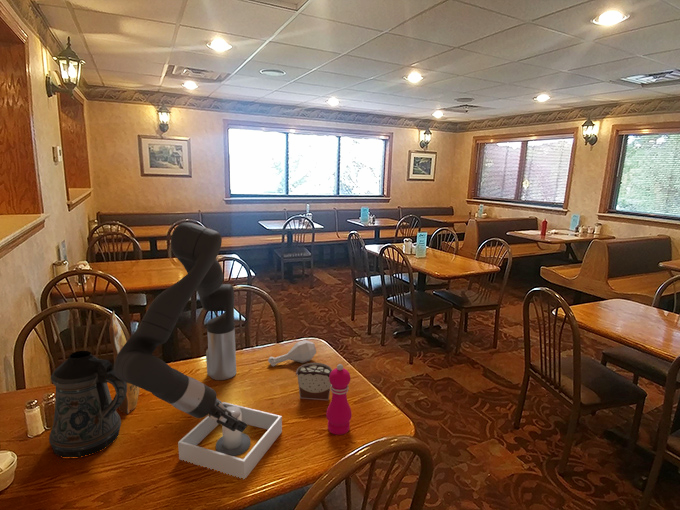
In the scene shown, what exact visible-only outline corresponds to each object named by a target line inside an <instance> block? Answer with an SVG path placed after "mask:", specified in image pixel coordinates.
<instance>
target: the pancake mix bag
mask: <svg viewBox="0 0 680 510" xmlns="http://www.w3.org/2000/svg"><path fill="white" fill-rule="evenodd" d="M116 316H117V315H116V314H115V310H113V311H112V312H111V313H110V314H109V319H110V324H109V328H108V330H109V341H110V345H111V349H112V352H113V363H114V362H115V359H116V357H117V355H118V353H119V352H120V350H121V349H122V347H123V346H124V345H125V344H126V342H127V339H126V336H125V334H124V331H123V329H122V326H121V325H120V322H119V321H118V319H117V317H116ZM140 389H141V388H140V387H137V386H135V385H132V384H129V383H127V393H126V397H125V399H124V401H123V402H122V404H121V405H120V406H119V407H118V410H119V412H121V411H122V412H121V413H123V412H124V414H129V413H130V412H131V411H133V410H135V409H136V407H137V404H138V399H139V394H140ZM130 410H131V411H130Z"/></svg>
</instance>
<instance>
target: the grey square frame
mask: <svg viewBox="0 0 680 510" xmlns="http://www.w3.org/2000/svg"><path fill="white" fill-rule="evenodd" d="M222 404H224V405H226V406H228V407H230V406H236V407H239V408H240V411H241V419H242V422H244V423H246V424H247V426H253V427H255V428H256V427H257V428H260V429H264V430H267V431H265V433H264V434H263V435H262V436H261V437H260V439H259V440H258V441H257V442H256V444H255V445H253V446H252V448H251V450H250V451H248V452H247V454H246V455H245V457H243V458H240V457H237V456H230V455H227V454H223V453H220V452H217V451H216V450H213V449H210V448H209V449H208V448H207V447H203V446H199V444H200V443H201V442H202V441H203V440H204V439H205V438H206V437H207V436H208V435H209V434H210V433H211V432H212V431H213V430H214V429H215V428H217V427H218V426H219V424H218V423H217V422H216V420H215V419H212V418H210V417H209V416H208V415H207V416H205V417H204V419H202V420H201V421H200V422H199V423H198V424H197V425H196V426H194V427H193V428H192V429H191V430H189V432H188V433H186V434H185V435H184V436H183V437H182V438H181V439H180V440H179V441H178V442H177V443H178V444H177V446H178V459H179V460H180V461H183V460H184V461H183V462H186V461H187V462H186V463H189V462H190V463H189V464H192V463H193V465H195V466H199V465H200V466H199V467H202V466H203V467H202V468H205V467H207V468H206V469H209V468H210V469H209V470H212V469H214V470H213V471H215V470H217V471H216V472H218V471H220V472H219V473H222V472H223V473H222V474H225V473H226V474H225V475H228V474H229V475H228V476H231V475H232V476H231V477H235V476H236V477H235V478H238V477H239V478H238V479H241V478H243V479H242V480H244V479H245V478H246V479H247V477H248V476H249V475H250V474H251V472H253V470H254V468H256V466H257V464H258V463H260V461H261V460H262V458H263V457H264V455H265V454H266V453H267V452H268V450H270V448H271V447H272V445H273V444H274V442H275V441H276V440H277V439H278V438H279V436H280V435H281V434H282V432H283V416H282V415H278V414H275V413H271V412H267V411H262V410H259V409H254V408H250V407H245V406H242V405H237V404H233V403H230V402H226V401H223V402H222ZM246 479H245V480H246Z"/></svg>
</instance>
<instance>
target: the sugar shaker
mask: <svg viewBox="0 0 680 510" xmlns="http://www.w3.org/2000/svg"><path fill="white" fill-rule="evenodd" d="M227 409H228V410H229V411H231V412H232V415H233V416H234V417H236V418H238V419H239V420H241V421H242V419H241V411H240V408H239V407H236V406H230V407H227ZM226 414H227V415H228V413H227V412H226ZM221 427H222V430H221V431H222V436H223V446H224V447H225V448H227V449H235V448H237V447H239V446H240V445H241V444H242V433H243V432H240V431H238V430H235V431H232V430H230V429H228V428H226V427H225V426H223V425H221Z"/></svg>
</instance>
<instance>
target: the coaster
mask: <svg viewBox="0 0 680 510" xmlns="http://www.w3.org/2000/svg"><path fill="white" fill-rule="evenodd" d="M250 446H251V438H250V436H249V435H248V434H246V433H244V432H242V444H241V445H240V446H239V447H237V448H235V449H227V448H225V447H224V446H223V435H222V436H220V437H219V438H218V440H216V443H215V449H216V450H215V451H217V452H220V453H223V454H227V455H230V456H234V457H237V456H239V455H242V454H243V453H246V451H248V450H249V448H250Z"/></svg>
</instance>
